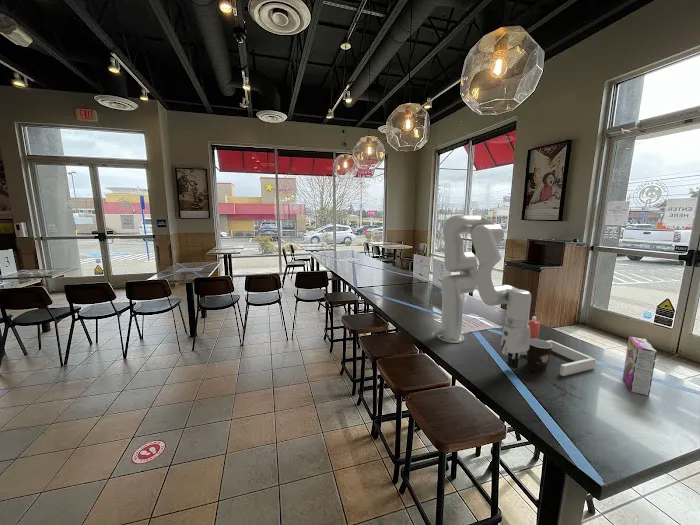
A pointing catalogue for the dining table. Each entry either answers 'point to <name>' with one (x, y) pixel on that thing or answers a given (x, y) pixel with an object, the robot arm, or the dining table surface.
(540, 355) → the coffee mug
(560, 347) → the open u-shaped frame
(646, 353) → the candy bar box
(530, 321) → the squeeze bottle
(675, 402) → the dining table surface
